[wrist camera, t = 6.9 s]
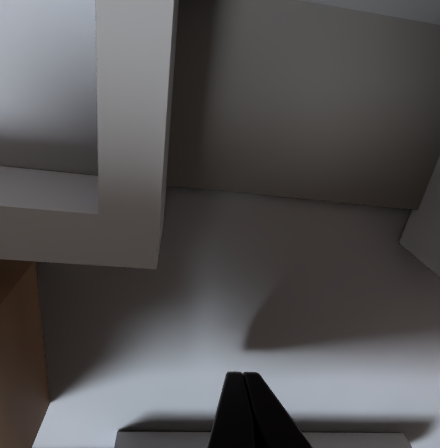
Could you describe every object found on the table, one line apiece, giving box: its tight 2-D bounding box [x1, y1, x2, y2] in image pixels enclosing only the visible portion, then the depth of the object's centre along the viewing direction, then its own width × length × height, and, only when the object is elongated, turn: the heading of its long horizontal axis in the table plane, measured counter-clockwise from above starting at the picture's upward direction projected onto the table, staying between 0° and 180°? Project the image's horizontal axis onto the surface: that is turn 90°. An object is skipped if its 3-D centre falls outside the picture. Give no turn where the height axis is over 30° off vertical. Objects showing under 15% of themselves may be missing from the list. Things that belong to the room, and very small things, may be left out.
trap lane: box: [0, 0, 440, 448], centre depth 8 cm, size 18×19×3 cm
